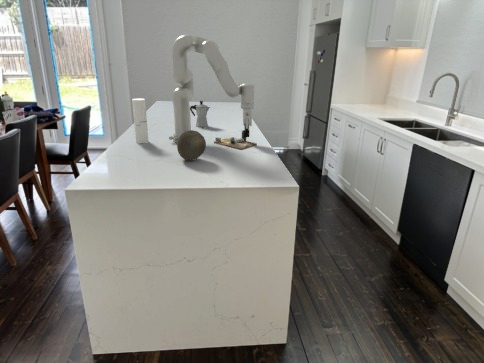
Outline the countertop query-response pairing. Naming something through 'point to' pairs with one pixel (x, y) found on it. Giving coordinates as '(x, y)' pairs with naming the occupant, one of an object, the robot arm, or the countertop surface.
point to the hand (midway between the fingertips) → (246, 136)
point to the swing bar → (238, 139)
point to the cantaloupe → (191, 145)
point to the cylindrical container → (140, 120)
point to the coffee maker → (200, 114)
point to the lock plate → (234, 145)
